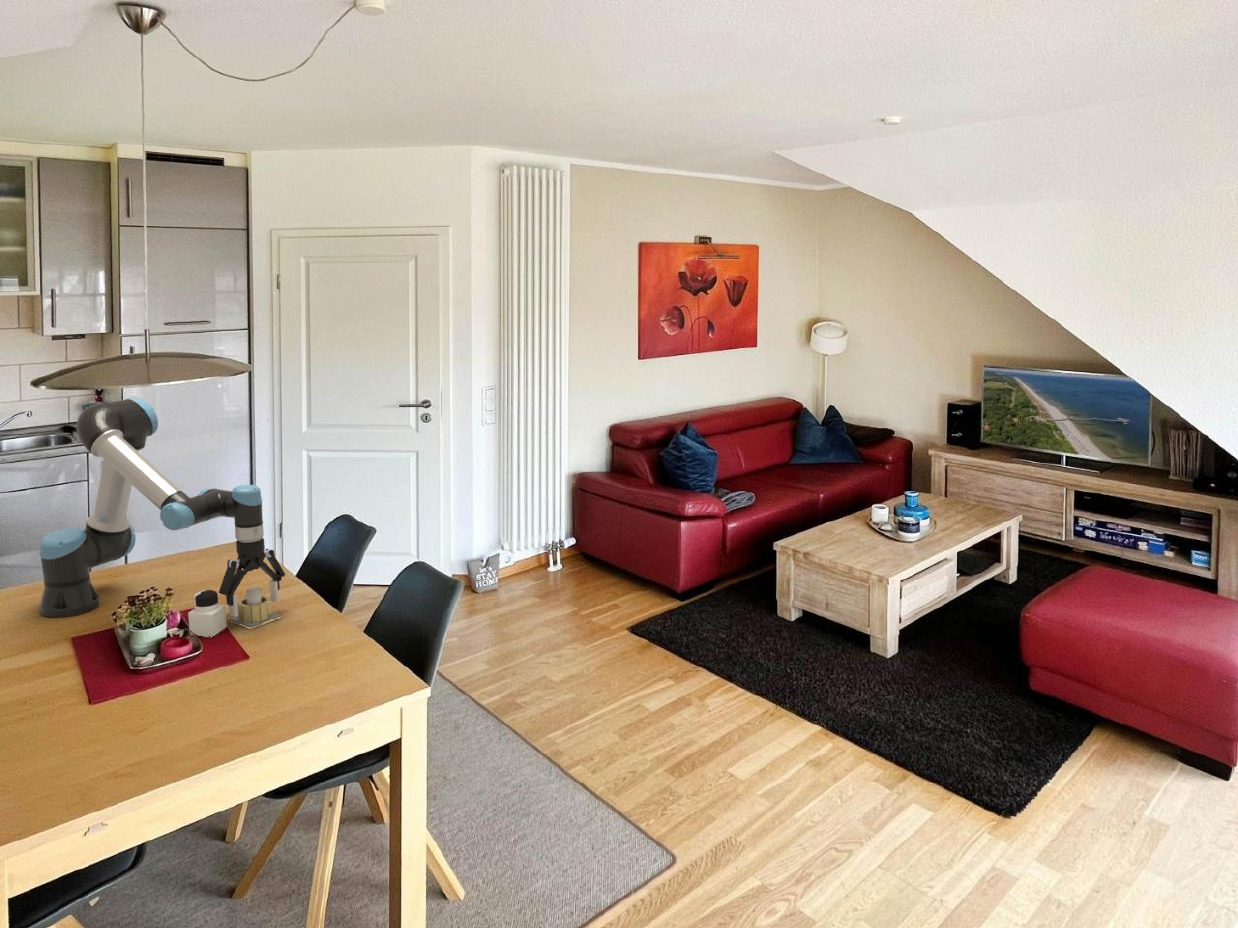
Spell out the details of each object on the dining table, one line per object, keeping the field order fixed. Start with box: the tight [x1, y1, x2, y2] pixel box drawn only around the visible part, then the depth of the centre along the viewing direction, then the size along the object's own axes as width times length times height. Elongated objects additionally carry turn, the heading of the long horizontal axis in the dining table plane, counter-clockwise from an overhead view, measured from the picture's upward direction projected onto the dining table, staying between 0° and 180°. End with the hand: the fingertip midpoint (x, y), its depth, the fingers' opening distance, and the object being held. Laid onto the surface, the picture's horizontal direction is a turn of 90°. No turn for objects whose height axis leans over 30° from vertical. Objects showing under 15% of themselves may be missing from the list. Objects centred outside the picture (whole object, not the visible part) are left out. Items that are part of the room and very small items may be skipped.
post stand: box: [229, 586, 282, 628], centre depth 257 cm, size 10×10×10 cm
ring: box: [237, 594, 273, 623], centre depth 257 cm, size 9×9×5 cm
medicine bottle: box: [187, 589, 228, 638], centre depth 248 cm, size 7×7×12 cm
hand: (254, 608), depth 257 cm, fingers open, 13 cm apart
